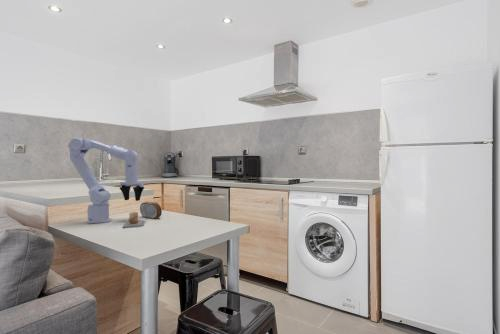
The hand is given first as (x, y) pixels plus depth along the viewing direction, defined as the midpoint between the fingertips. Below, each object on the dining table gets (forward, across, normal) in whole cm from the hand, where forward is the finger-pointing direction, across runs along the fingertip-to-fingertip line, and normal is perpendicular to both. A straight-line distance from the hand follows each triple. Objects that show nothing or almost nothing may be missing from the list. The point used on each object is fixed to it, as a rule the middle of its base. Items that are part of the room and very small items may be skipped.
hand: (132, 200), depth 145 cm
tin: (+11, +4, +8) cm, 14 cm away
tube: (+10, +9, -8) cm, 15 cm away
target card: (+10, +9, -8) cm, 16 cm away
